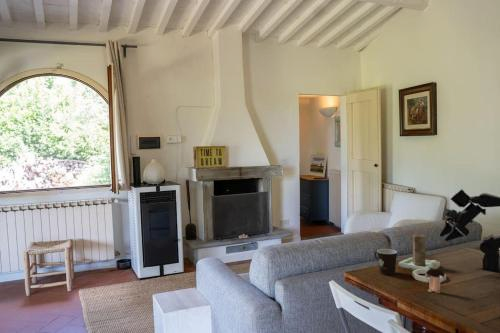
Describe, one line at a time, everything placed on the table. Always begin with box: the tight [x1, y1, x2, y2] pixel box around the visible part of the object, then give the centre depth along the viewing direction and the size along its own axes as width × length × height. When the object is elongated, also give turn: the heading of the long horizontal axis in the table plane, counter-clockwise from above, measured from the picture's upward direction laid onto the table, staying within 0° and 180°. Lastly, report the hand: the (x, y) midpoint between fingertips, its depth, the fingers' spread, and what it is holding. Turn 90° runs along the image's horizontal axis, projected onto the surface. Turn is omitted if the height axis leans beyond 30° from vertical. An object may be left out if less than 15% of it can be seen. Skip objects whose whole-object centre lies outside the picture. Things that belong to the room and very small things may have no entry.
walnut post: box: [412, 234, 426, 266], centre depth 190 cm, size 5×5×14 cm
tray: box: [398, 256, 441, 271], centre depth 190 cm, size 13×13×2 cm
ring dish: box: [411, 269, 447, 283], centre depth 174 cm, size 12×12×2 cm
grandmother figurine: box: [424, 259, 447, 294], centre depth 158 cm, size 8×4×13 cm, turn 68°
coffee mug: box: [374, 248, 398, 276], centre depth 184 cm, size 12×9×10 cm
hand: (442, 238), depth 188 cm, fingers open, 9 cm apart
